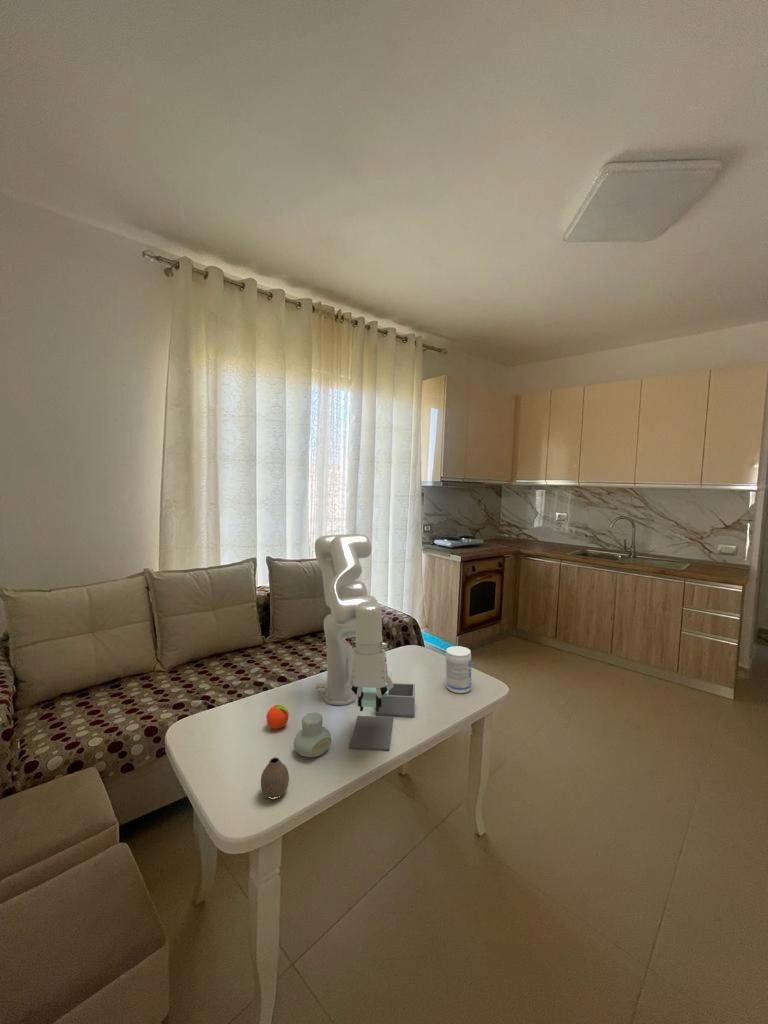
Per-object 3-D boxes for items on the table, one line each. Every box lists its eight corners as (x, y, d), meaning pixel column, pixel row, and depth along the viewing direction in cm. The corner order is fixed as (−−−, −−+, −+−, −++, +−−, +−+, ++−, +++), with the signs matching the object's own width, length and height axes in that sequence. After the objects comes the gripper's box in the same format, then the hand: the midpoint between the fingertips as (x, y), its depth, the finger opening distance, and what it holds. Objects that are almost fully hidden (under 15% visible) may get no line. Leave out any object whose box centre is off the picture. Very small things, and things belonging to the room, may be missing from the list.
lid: (361, 675, 131) (361, 669, 131) (391, 676, 130) (391, 670, 130) (351, 706, 112) (351, 700, 112) (386, 707, 111) (386, 701, 111)
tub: (375, 715, 134) (375, 695, 134) (378, 701, 143) (378, 682, 142) (414, 717, 133) (414, 697, 132) (414, 702, 142) (414, 683, 141)
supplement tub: (474, 693, 148) (475, 655, 147) (450, 695, 147) (450, 656, 146) (466, 680, 157) (466, 644, 156) (442, 682, 156) (442, 646, 155)
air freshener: (305, 766, 110) (304, 731, 109) (289, 752, 116) (288, 719, 115) (336, 747, 118) (335, 715, 117) (319, 735, 124) (318, 704, 123)
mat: (348, 748, 117) (348, 746, 117) (357, 717, 133) (357, 715, 133) (389, 750, 116) (389, 748, 116) (393, 719, 132) (393, 717, 132)
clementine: (295, 722, 130) (295, 701, 130) (285, 735, 124) (284, 713, 123) (273, 719, 132) (273, 698, 132) (262, 731, 126) (261, 710, 125)
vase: (255, 799, 98) (254, 766, 98) (272, 780, 105) (271, 748, 104) (278, 807, 96) (277, 773, 95) (294, 787, 102) (293, 754, 102)
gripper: (398, 642, 116) (399, 703, 117) (342, 641, 118) (343, 701, 118) (397, 652, 108) (398, 717, 109) (337, 651, 110) (338, 715, 111)
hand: (369, 708), depth 114 cm, fingers closed on lid, 4 cm apart
